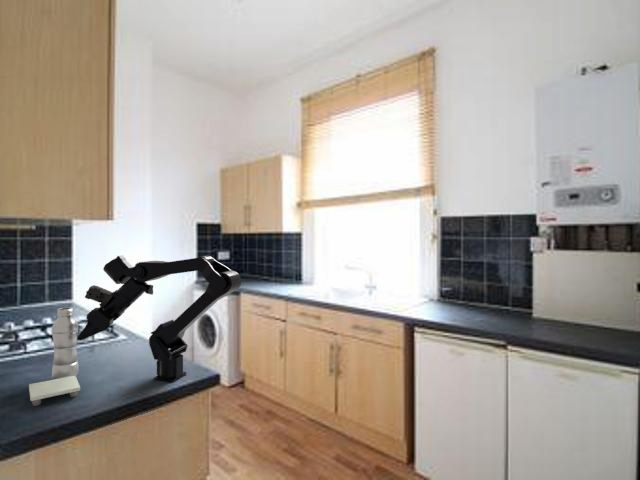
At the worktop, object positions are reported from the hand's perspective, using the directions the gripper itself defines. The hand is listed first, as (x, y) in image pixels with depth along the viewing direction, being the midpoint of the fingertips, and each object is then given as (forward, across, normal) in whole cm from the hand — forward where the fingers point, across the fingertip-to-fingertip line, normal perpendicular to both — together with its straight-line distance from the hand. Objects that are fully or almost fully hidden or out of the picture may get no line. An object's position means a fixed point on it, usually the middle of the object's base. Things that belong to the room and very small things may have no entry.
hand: (84, 334), depth 108 cm
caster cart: (+11, +12, +6) cm, 17 cm away
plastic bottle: (+12, 0, +6) cm, 13 cm away
